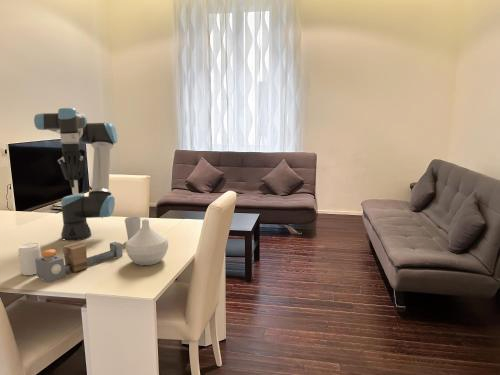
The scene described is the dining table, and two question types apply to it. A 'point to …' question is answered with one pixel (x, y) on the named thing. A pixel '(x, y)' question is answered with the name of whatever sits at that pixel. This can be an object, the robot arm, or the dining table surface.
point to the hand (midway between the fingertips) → (75, 194)
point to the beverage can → (29, 258)
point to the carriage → (76, 256)
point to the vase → (146, 246)
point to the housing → (50, 268)
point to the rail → (101, 256)
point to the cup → (132, 226)
